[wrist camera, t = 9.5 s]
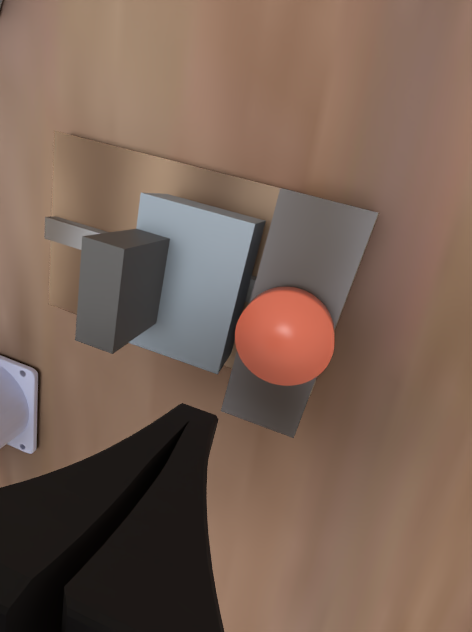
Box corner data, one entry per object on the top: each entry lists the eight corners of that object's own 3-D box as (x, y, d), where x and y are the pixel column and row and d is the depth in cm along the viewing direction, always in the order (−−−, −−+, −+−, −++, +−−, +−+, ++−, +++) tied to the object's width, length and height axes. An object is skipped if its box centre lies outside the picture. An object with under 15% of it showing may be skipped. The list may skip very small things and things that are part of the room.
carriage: (146, 324, 19) (72, 373, 14) (166, 193, 16) (85, 190, 11) (231, 353, 18) (189, 417, 13) (265, 220, 16) (231, 231, 10)
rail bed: (62, 299, 23) (-10, 325, 18) (69, 134, 19) (-17, 112, 14) (311, 385, 20) (305, 442, 15) (376, 212, 16) (394, 216, 12)
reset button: (232, 356, 14) (225, 367, 13) (253, 275, 13) (247, 280, 12) (316, 385, 14) (315, 398, 13) (348, 303, 12) (349, 311, 11)
